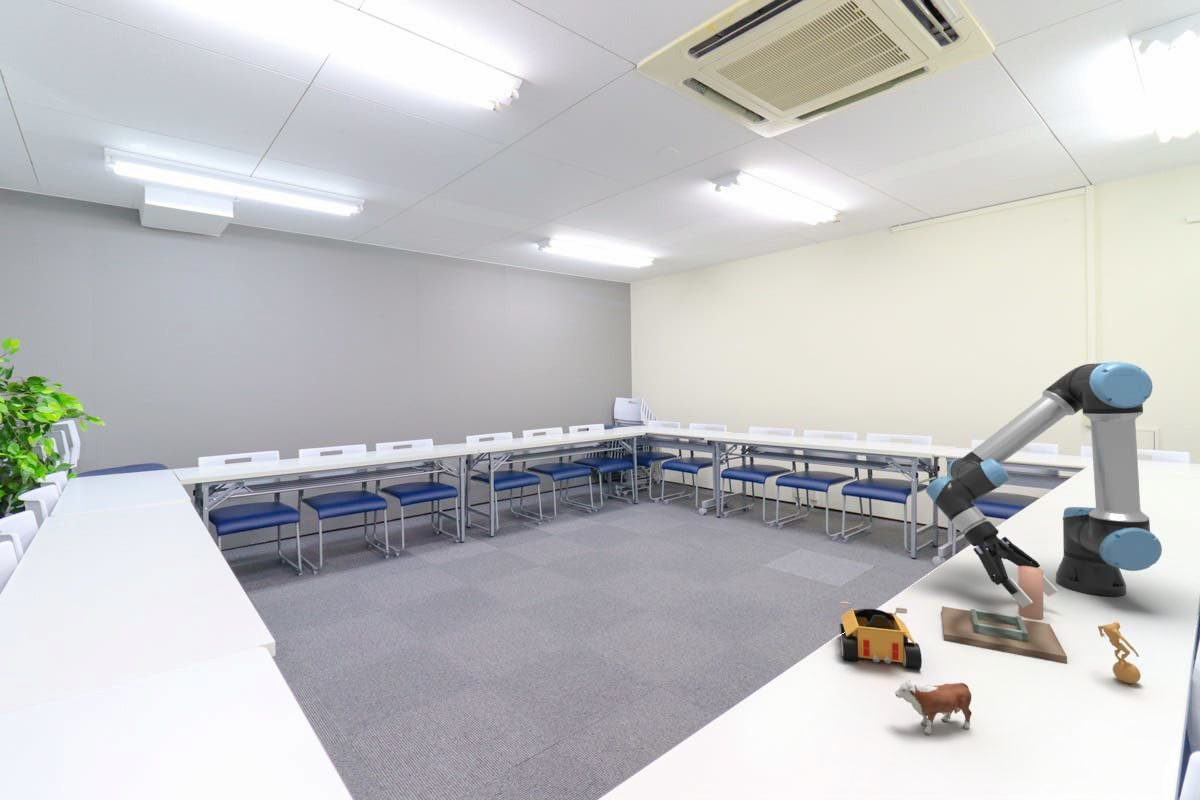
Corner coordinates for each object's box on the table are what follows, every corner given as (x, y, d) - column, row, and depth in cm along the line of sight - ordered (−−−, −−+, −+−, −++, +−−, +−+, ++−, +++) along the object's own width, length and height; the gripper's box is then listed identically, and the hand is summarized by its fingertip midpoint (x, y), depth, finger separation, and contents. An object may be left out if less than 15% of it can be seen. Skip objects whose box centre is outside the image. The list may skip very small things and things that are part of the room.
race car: (906, 643, 124) (906, 598, 124) (923, 677, 110) (923, 626, 110) (836, 635, 129) (836, 592, 129) (844, 667, 115) (843, 618, 115)
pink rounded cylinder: (1041, 613, 138) (1041, 567, 138) (1045, 621, 134) (1045, 573, 134) (1016, 610, 141) (1016, 564, 141) (1019, 617, 137) (1019, 570, 137)
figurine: (1156, 694, 102) (1157, 632, 102) (1122, 693, 103) (1123, 631, 103) (1118, 671, 111) (1119, 613, 110) (1087, 670, 111) (1087, 613, 111)
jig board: (1049, 629, 129) (1049, 615, 129) (1067, 663, 114) (1067, 647, 114) (941, 611, 141) (941, 598, 141) (944, 640, 125) (944, 625, 125)
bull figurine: (891, 721, 96) (891, 676, 96) (962, 716, 97) (961, 671, 97) (907, 737, 91) (907, 690, 91) (981, 731, 92) (981, 685, 92)
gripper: (988, 528, 157) (1050, 596, 144) (940, 541, 145) (1003, 616, 132) (1009, 513, 152) (1075, 582, 139) (961, 526, 140) (1029, 602, 127)
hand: (1041, 599), depth 136 cm, fingers open, 13 cm apart
